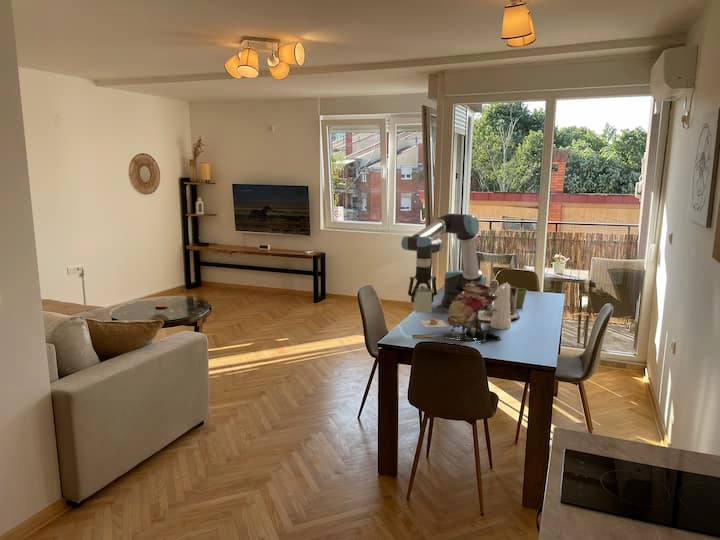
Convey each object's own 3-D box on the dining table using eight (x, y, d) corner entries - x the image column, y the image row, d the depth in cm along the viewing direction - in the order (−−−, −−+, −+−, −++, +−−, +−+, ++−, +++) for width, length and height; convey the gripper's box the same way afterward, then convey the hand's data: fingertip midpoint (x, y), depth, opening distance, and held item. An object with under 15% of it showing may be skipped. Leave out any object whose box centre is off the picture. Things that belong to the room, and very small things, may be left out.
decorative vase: (496, 329, 291) (499, 285, 286) (487, 324, 301) (489, 281, 296) (514, 328, 293) (516, 284, 289) (504, 323, 304) (506, 280, 299)
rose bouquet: (461, 326, 296) (463, 274, 291) (506, 338, 275) (509, 282, 269) (431, 335, 280) (432, 280, 274) (476, 349, 258) (479, 289, 253)
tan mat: (408, 329, 289) (408, 328, 289) (427, 329, 291) (427, 328, 291) (414, 338, 274) (414, 337, 274) (435, 337, 275) (435, 336, 275)
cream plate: (419, 322, 304) (420, 316, 303) (441, 321, 305) (442, 316, 305) (425, 328, 291) (425, 322, 290) (448, 328, 293) (448, 322, 292)
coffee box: (499, 312, 328) (500, 286, 325) (501, 309, 333) (503, 285, 330) (514, 314, 324) (515, 288, 321) (516, 311, 329) (518, 286, 326)
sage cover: (412, 308, 283) (413, 284, 281) (427, 308, 284) (428, 284, 282) (416, 312, 275) (417, 287, 273) (431, 312, 276) (432, 287, 274)
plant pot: (524, 304, 347) (525, 288, 345) (527, 309, 335) (529, 292, 333) (505, 304, 348) (506, 287, 346) (508, 308, 336) (510, 291, 334)
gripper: (405, 267, 271) (404, 310, 275) (444, 267, 273) (443, 309, 277) (402, 265, 278) (401, 306, 282) (440, 264, 281) (439, 306, 285)
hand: (421, 308), depth 280 cm, fingers closed on sage cover, 8 cm apart
